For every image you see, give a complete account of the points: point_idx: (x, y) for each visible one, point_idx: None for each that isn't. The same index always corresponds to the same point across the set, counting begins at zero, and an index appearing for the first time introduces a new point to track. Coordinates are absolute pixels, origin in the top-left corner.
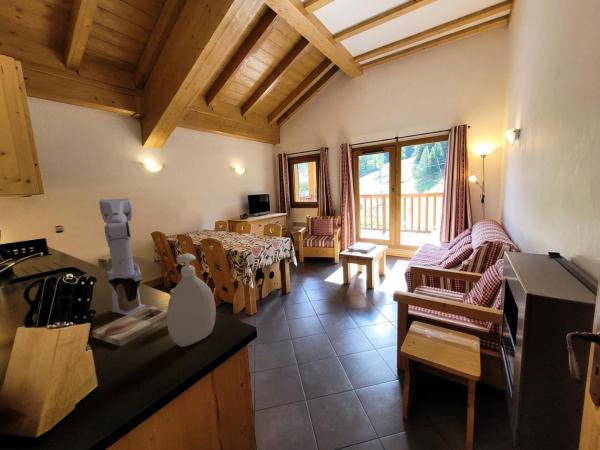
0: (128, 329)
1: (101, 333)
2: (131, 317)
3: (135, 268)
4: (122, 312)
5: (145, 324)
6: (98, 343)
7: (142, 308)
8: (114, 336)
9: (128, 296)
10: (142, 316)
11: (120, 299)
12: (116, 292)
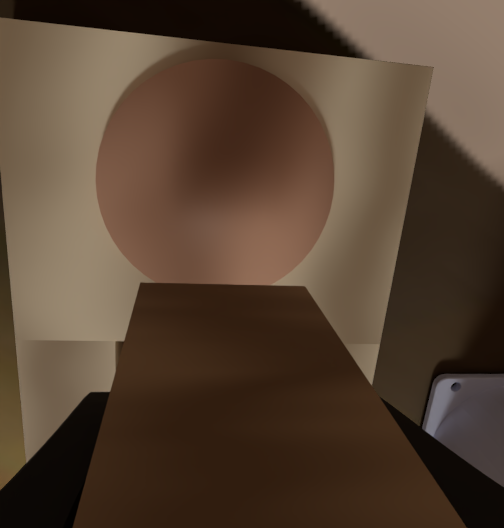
0: (94, 181)
1: (305, 62)
2: None
3: None
4: (494, 386)
5: (48, 300)
6: (264, 11)
7: None
8: (118, 56)
9: (39, 452)
10: None
11: (281, 365)
12: (463, 463)
